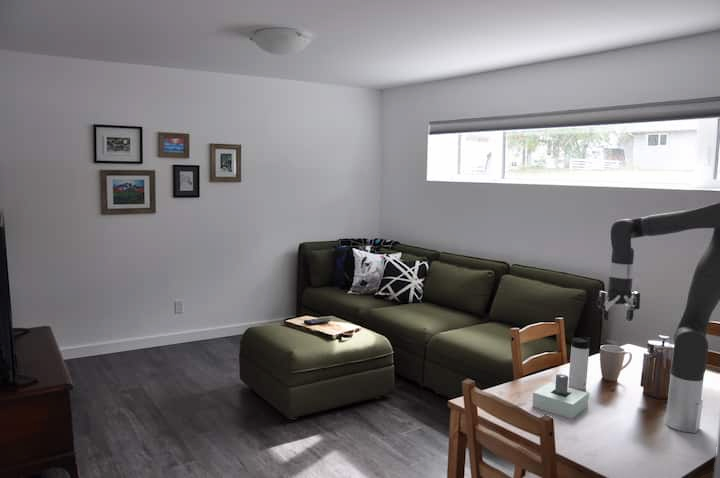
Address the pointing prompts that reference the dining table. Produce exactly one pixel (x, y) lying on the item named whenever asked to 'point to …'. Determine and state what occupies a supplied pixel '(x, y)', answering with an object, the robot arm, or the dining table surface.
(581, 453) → the dining table surface
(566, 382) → the pin
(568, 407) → the socket block
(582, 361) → the travel mug
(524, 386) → the dining table surface
